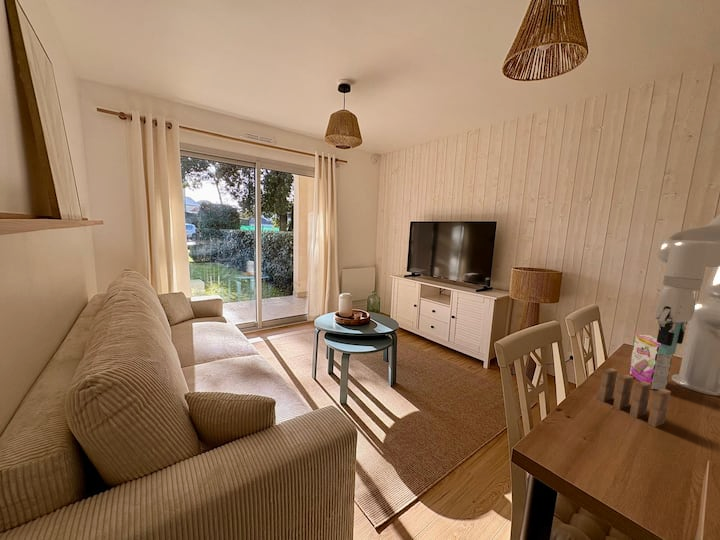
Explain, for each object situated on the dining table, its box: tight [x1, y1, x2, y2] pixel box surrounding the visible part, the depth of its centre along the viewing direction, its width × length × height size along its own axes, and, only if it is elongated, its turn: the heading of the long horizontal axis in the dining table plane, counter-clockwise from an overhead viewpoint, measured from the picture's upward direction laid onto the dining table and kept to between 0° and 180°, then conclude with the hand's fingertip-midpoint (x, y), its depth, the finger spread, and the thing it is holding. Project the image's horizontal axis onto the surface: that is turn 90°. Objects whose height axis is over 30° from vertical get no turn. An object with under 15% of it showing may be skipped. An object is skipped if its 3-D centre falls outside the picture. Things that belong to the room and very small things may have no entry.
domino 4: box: [647, 388, 672, 428], centre depth 82 cm, size 5×2×10 cm, turn 112°
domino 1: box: [597, 367, 619, 403], centre depth 93 cm, size 5×2×10 cm, turn 112°
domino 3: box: [629, 381, 652, 419], centre depth 86 cm, size 5×2×10 cm, turn 112°
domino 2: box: [612, 373, 635, 410], centre depth 89 cm, size 5×2×10 cm, turn 112°
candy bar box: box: [628, 333, 674, 391], centre depth 104 cm, size 11×5×16 cm, turn 168°
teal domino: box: [659, 320, 681, 355], centre depth 86 cm, size 5×2×10 cm, turn 111°
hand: (669, 342), depth 86 cm, fingers closed on teal domino, 4 cm apart
